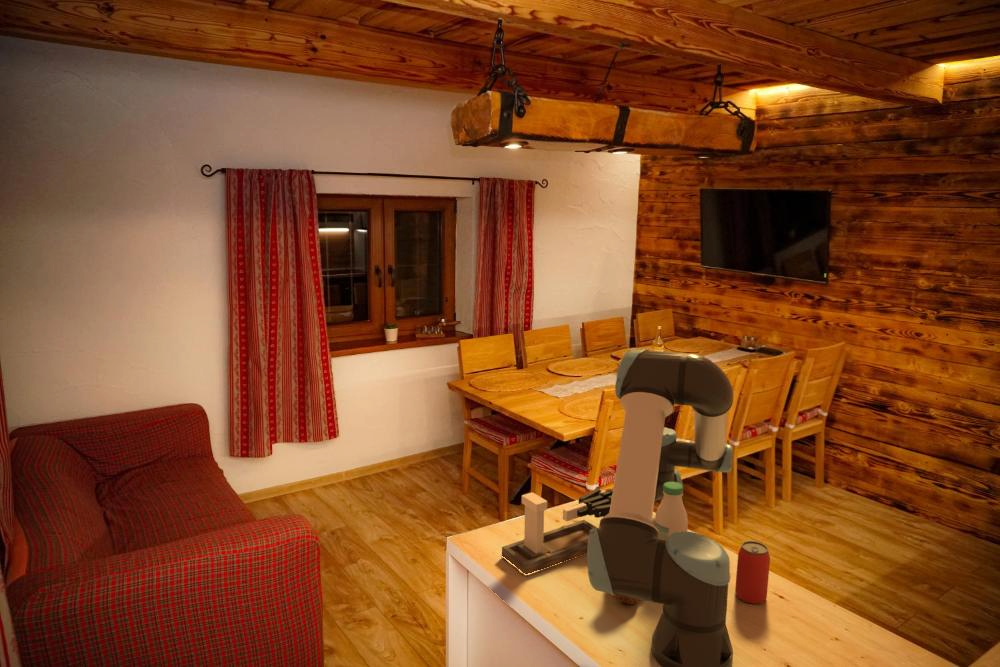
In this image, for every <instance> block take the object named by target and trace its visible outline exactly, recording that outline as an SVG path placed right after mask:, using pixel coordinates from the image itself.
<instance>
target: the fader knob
mask: <svg viewBox="0 0 1000 667" xmlns="http://www.w3.org/2000/svg"><path fill="white" fill-rule="evenodd" d="M521 504H522V505H524V538H523V540H524V543H523V544H520V545H518V546H517V551H518V552H519V553H521V554H522V555H523V556H525V557H526V558H527V559H529V560H531V559H534V558H537V557H540V556H542V555H544V554H546V553H550V551H549V550H548V549H546V548H545V547H544V546H543V539H544V533H545V532H544V531H545V529H544V528H545V526H544V525H545V511H546V510H548V500H546V499H545V498H543V497H541V496H540V495H538V494H536V493H534V492H528V493H524V494H522V495H521Z"/></svg>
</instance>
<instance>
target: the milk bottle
mask: <svg viewBox="0 0 1000 667" xmlns="http://www.w3.org/2000/svg"><path fill="white" fill-rule="evenodd" d="M663 494H664V497H663V499H661V502H660V504H659V506H658V507H657V510H656V512H655V516H654V525H655V527H656V528H657V529H658V538H657V539H660V540H667V538H668V537H669V535H671V534H672V533H675V532H679V533H681V532H682V531H685V532H688V530H689V529H688V527H689V526H688V525H689V524H688V523H689V520H688V518H689V517H688V513H687V511H686V510H687V509H686V508H685V505H684V503H683V496H684V486H683V484H682V485H681V484H680V483H677V482H666V483H664V485H663Z"/></svg>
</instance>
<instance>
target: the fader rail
mask: <svg viewBox="0 0 1000 667" xmlns="http://www.w3.org/2000/svg"><path fill="white" fill-rule="evenodd" d="M594 528H597V529H599V527H597V526H596V525H594V524H592V523H590V522H588V521H587V520H585V519H582V520H579V521H576V522H573V523H569V524H567V525H562V526H561V527H558V528H555V529H552V530H549V531H546V532H544V539H543V546H544V547H545V548H546V549H548V550H549V551H550V553H546V554H544V555H542V556H540V557H537V558H534V559H531V560H529V559H527V558H526V557H525V556H523V555H522V554H521V553H519V552H518V551H517V546H518V545H520V544H523V543H524V539H522V540H518V541H516V542H512V543H509V544H506V545H504V546H502V547H501V557H502V556H503V557H505V558H506V559H507V560H509V561H510V562H511V563H512V564H514V565H515V566H516V567H517V568H518V569H520V570H521V571H522V572H523V573H525V574H528V573H532V572H534V571H537V570H541V569H544V568H547V567H550V566H552V565H555V564H558V563H560V562H564V561H566V560H569V559H572V558H575V557H578V556H580V557H582V556H581V555H583V556H585V555H584V554H586V553H587V550H588V537H589V533H590V530H591V529H594ZM586 555H587V554H586ZM578 558H579V557H578ZM575 559H576V558H575ZM572 560H573V559H572ZM564 563H565V562H564Z"/></svg>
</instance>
